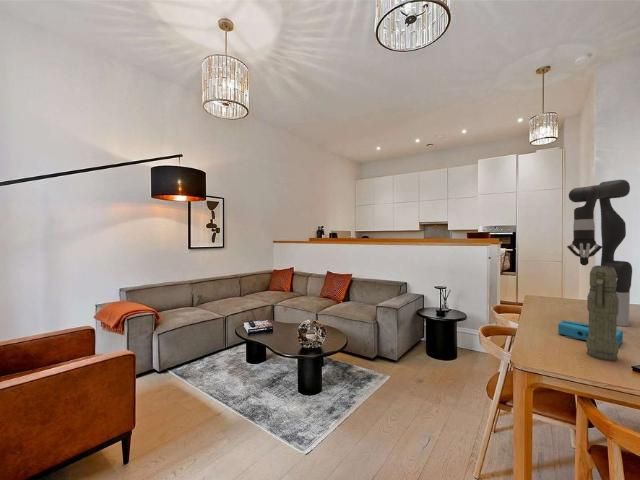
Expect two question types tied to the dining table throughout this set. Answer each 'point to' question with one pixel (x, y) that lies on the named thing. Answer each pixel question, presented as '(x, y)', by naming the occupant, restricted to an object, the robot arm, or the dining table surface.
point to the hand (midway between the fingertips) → (584, 265)
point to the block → (581, 330)
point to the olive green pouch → (602, 313)
